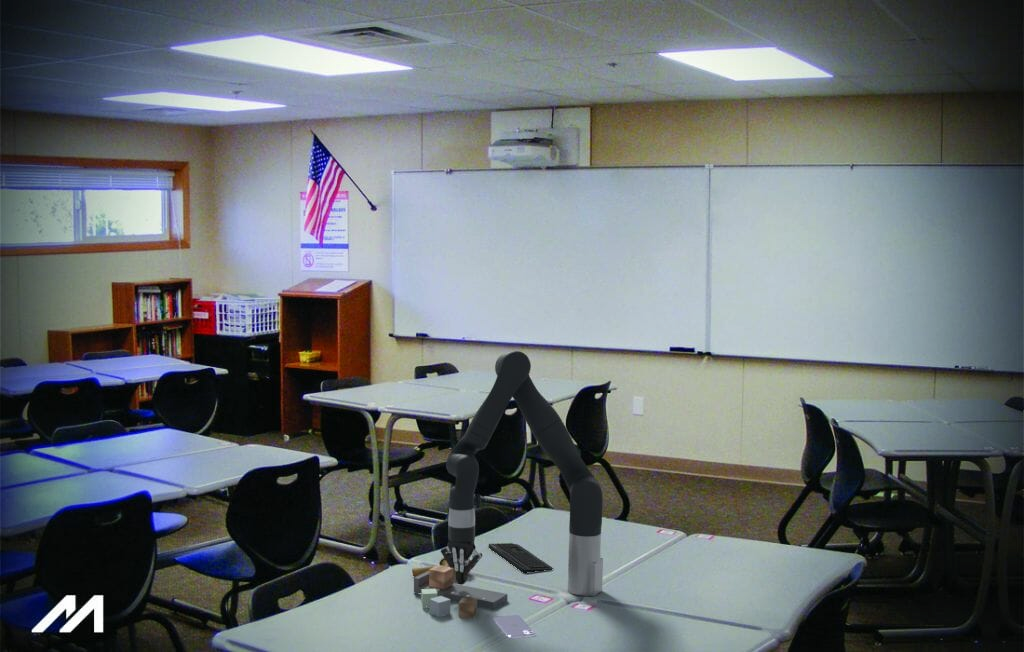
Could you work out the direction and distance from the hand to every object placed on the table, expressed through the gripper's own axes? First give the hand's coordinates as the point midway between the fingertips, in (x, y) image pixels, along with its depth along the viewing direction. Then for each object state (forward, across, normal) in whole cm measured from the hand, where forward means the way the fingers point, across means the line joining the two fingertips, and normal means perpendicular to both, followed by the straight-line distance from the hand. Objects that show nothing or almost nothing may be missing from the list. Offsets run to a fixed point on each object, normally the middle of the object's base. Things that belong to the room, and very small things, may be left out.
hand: (461, 583), depth 280 cm
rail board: (+4, 0, 0) cm, 4 cm away
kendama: (+4, +15, -13) cm, 20 cm away
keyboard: (+5, +3, -42) cm, 42 cm away
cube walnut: (+4, -9, +11) cm, 15 cm away
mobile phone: (+4, -24, +13) cm, 28 cm away
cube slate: (+4, -2, +14) cm, 15 cm away
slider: (+2, +6, 0) cm, 7 cm away
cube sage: (+4, +4, +10) cm, 12 cm away
